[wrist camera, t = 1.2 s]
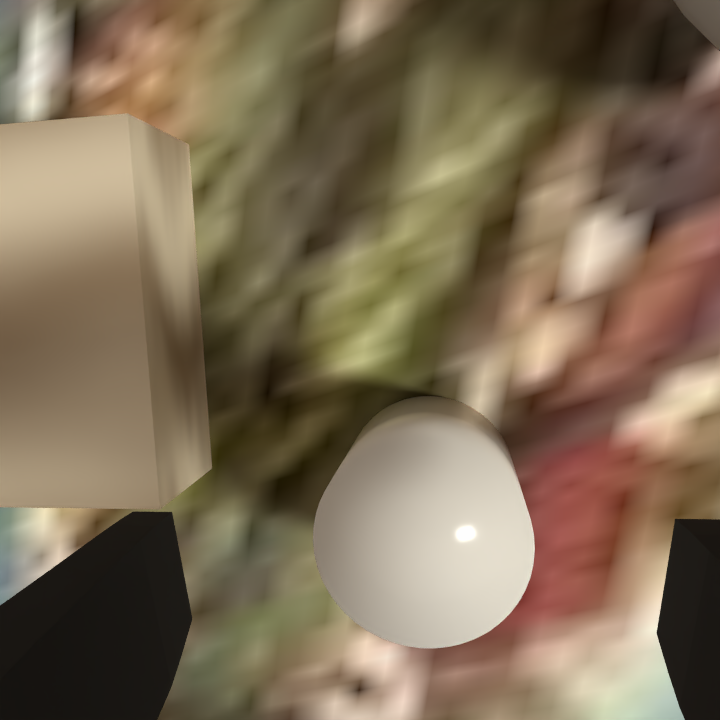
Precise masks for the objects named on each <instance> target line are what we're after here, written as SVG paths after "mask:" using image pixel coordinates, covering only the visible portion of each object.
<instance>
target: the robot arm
mask: <svg viewBox="0 0 720 720" xmlns="http://www.w3.org/2000/svg"><path fill="white" fill-rule="evenodd" d="M191 621H192V615H191V610H190V604H189V599H188V594H187V589H186V583H185V578H184V573H183V568H182V562H181V557H180V552H179V547H178V541H177V536H176V531H175V526H174V520H173V515H172V512H132V513H130V514H129V515H127V516H125V517H124V518H122V519H121V520H119V521H118V522H116V523H115V524H113V525H112V526H110V527H109V528H108V529H106V530H105V531H103V532H102V533H101V534H99V535H98V536H96V537H95V538H94V539H92V540H91V541H89V542H88V543H87V544H85V545H84V546H83V547H81V548H80V549H78V550H77V551H76V552H74V553H73V554H72V555H70V556H69V557H67V558H66V559H65V560H63V561H62V562H61V563H59V564H58V565H56V566H55V567H54V568H52V569H51V570H49V571H48V572H47V573H45V574H44V575H42V576H41V577H40V578H38V579H37V580H35V581H34V582H33V583H31V584H30V585H28V586H27V587H26V588H24V589H23V590H21V591H20V592H19V593H17V594H16V595H15V596H13V597H12V598H10V599H9V600H7V601H6V602H5V603H3V604H2V605H0V720H157V719H158V716H159V714H160V712H161V709H162V707H163V705H164V703H165V700H166V698H167V696H168V693H169V691H170V689H171V686H172V683H173V680H174V677H175V674H176V671H177V668H178V665H179V662H180V659H181V655H182V652H183V649H184V645H185V642H186V638H187V635H188V632H189V628H190V625H191ZM657 636H658V639H659V643H660V646H661V649H662V653H663V656H664V659H665V663H666V666H667V670H668V673H669V676H670V679H671V682H672V685H673V688H674V691H675V694H676V697H677V701H678V704H679V707H680V709H681V711H682V714H683V716H684V718H685V720H720V520H711V519H675V524H674V530H673V536H672V542H671V548H670V554H669V561H668V567H667V573H666V579H665V585H664V591H663V598H662V604H661V610H660V616H659V622H658V628H657Z"/></svg>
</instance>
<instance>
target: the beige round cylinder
mask: <svg viewBox="0 0 720 720" xmlns="http://www.w3.org/2000/svg"><path fill="white" fill-rule="evenodd" d="M313 545H314V554H315V559H316V563H317V567H318V570H319V573H320V575H321V578H322V580H323V582H324V584H325V586H326V588H327V590H328V592H329V593H330V595H331V596H332V598H333V599H334V601H335V602H336V603H337V605H338V606H339V607H340V608H341V609H342V610H343V611H344V612H345V614H346V615H348V616H349V617H350V618H351V619H352V620H353V621H354V622H356V623H357V624H358V625H360V626H361V627H363V628H364V629H366V630H367V631H369V632H370V633H372V634H374V635H376V636H378V637H380V638H382V639H385V640H388V641H390V642H393V643H396V644H400V645H404V646H409V647H417V648H442V647H450V646H454V645H458V644H462V643H465V642H468V641H471V640H473V639H476V638H478V637H480V636H481V635H483V634H485V633H487V632H489V631H490V630H491V629H493V628H494V627H495V626H497V625H498V624H500V623H501V622H502V621H503V620H504V619H505V618H506V617H507V616H508V615H509V614H510V613H511V611H512V610H513V609H514V608H515V606H516V605H517V604H518V602H519V601H520V599H521V597H522V595H523V593H524V592H525V590H526V587H527V585H528V582H529V580H530V577H531V572H532V568H533V564H534V552H535V546H534V533H533V528H532V523H531V519H530V516H529V513H528V510H527V507H526V503H525V500H524V497H523V494H522V491H521V487H520V484H519V481H518V478H517V475H516V471H515V468H514V465H513V462H512V459H511V456H510V453H509V450H508V447H507V445H506V443H505V441H504V439H503V437H502V436H501V435H500V433H499V432H498V430H497V429H496V428H495V427H494V425H493V424H492V423H491V422H490V421H489V420H488V419H487V418H486V417H484V416H483V415H482V414H481V413H479V412H478V411H476V410H475V409H473V408H472V407H470V406H468V405H466V404H464V403H462V402H459V401H456V400H453V399H449V398H444V397H437V396H419V397H413V398H408V399H405V400H402V401H398V402H396V403H394V404H392V405H390V406H388V407H386V408H385V409H383V410H382V411H380V412H378V413H377V414H376V415H375V416H374V417H373V418H372V419H370V421H369V422H368V423H367V424H366V425H365V426H364V428H363V429H362V431H361V432H360V434H359V435H358V437H357V438H356V440H355V442H354V443H353V445H352V447H351V448H350V450H349V452H348V453H347V455H346V457H345V458H344V460H343V461H342V463H341V465H340V466H339V468H338V470H337V471H336V473H335V475H334V476H333V478H332V480H331V481H330V483H329V485H328V486H327V488H326V490H325V492H324V494H323V496H322V498H321V500H320V503H319V506H318V509H317V512H316V516H315V522H314V530H313Z"/></svg>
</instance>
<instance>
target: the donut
mask: <svg viewBox="0 0 720 720" xmlns="http://www.w3.org/2000/svg"><path fill="white" fill-rule="evenodd" d="M673 1H674V2H675V3H676V5H677V6H678V8H679V9H680V11H681V12H682V13H683V15H684V16H685V17H686V18H687V19H688V20H689V21H690V22H691V23H692V24H693V25H694V26H695V27H696V28H697V29H698V30H699V31H700V32H701V33H702V34H703V35H704V36H705V37H706V38H707V39H708V40H709V41H710V42H711V43H712V44H713V45H714V46H715V47H716V48H717V49H718V50H719V51H720V0H673Z"/></svg>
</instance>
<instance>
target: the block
mask: <svg viewBox="0 0 720 720" xmlns="http://www.w3.org/2000/svg"><path fill="white" fill-rule="evenodd" d="M211 469H212V459H211V445H210V431H209V417H208V404H207V390H206V376H205V362H204V348H203V334H202V321H201V307H200V293H199V279H198V265H197V251H196V238H195V224H194V210H193V196H192V182H191V168H190V155H189V144H187V143H185V142H183V141H181V140H179V139H177V138H175V137H173V136H171V135H169V134H167V133H165V132H163V131H161V130H159V129H157V128H155V127H153V126H152V125H150V124H148V123H146V122H144V121H142V120H140V119H138V118H136V117H134V116H132V115H130V114H116V115H105V116H93V117H81V118H70V119H58V120H46V121H35V122H23V123H11V124H0V507H31V508H107V509H161V508H162V507H164V506H165V505H166V504H167V503H169V502H170V501H171V500H172V499H174V498H175V497H176V496H178V495H179V494H180V493H181V492H183V491H184V490H185V489H187V488H188V487H189V486H190V485H192V484H193V483H194V482H195V481H197V480H198V479H199V478H201V477H202V476H203V475H204V474H206V473H207V472H208V471H209V470H211Z"/></svg>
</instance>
